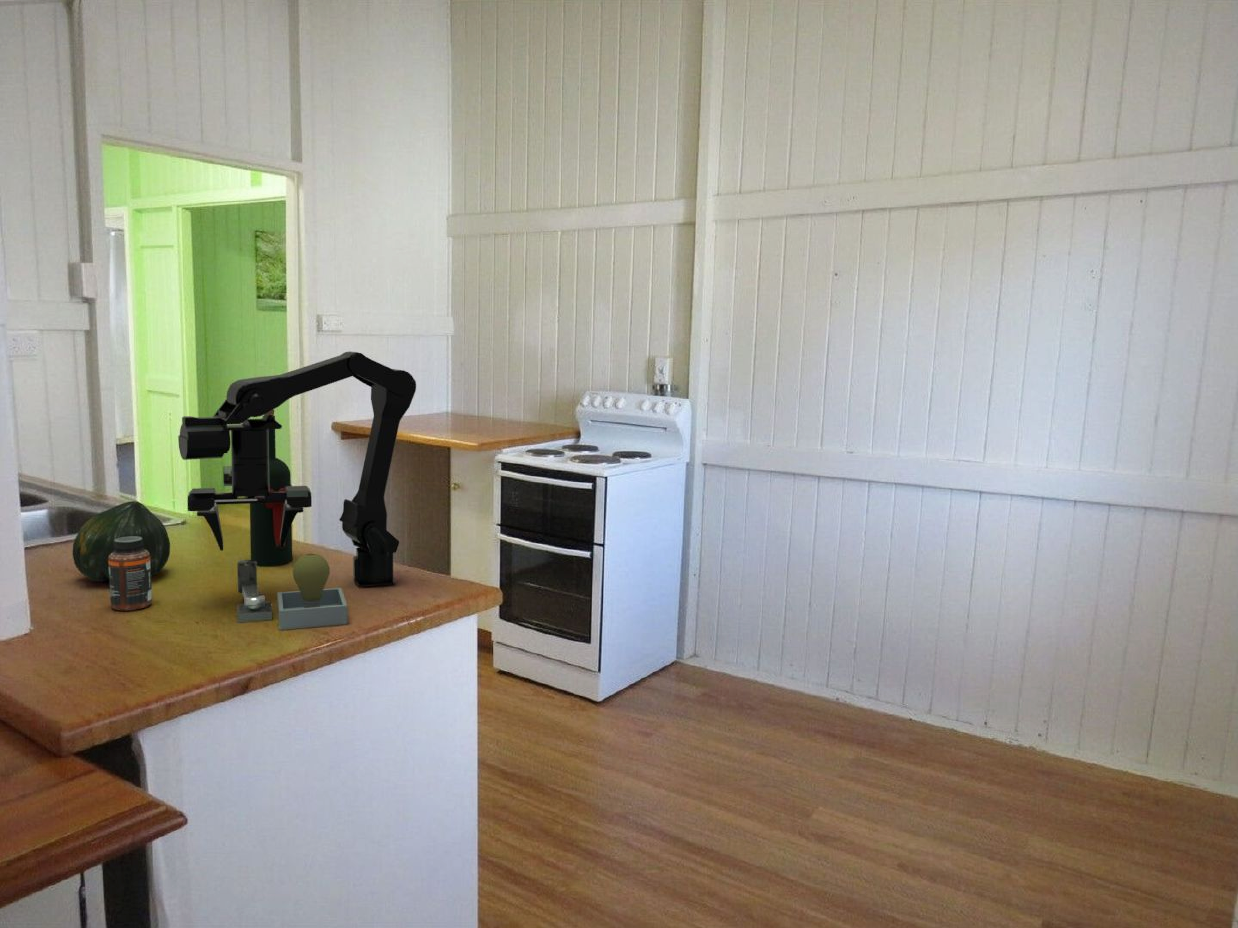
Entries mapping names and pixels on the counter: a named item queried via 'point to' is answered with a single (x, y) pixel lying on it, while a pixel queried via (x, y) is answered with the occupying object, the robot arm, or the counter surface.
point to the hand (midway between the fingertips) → (252, 548)
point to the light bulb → (311, 578)
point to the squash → (117, 523)
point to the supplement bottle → (130, 574)
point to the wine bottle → (271, 516)
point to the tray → (311, 610)
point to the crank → (249, 584)
